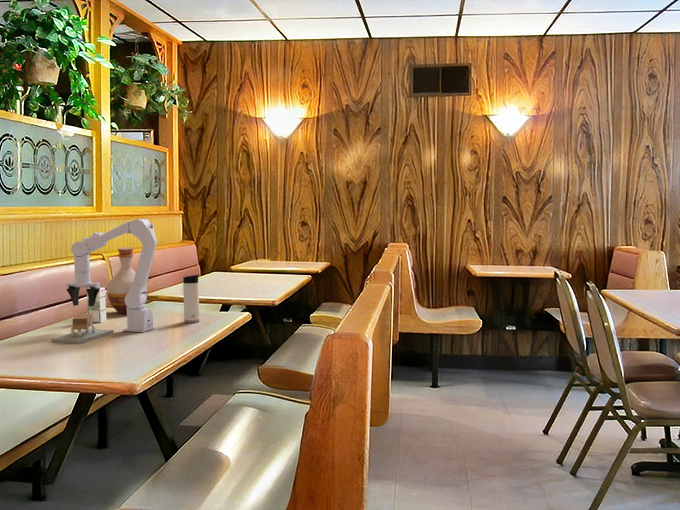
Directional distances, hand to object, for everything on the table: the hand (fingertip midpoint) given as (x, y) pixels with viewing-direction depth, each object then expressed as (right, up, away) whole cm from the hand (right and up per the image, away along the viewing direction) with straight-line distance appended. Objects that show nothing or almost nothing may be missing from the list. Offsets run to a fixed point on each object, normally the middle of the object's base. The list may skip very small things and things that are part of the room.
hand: (83, 305), depth 265 cm
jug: (+3, -7, +44) cm, 44 cm away
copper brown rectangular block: (+5, -7, -14) cm, 16 cm away
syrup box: (-2, -9, +20) cm, 22 cm away
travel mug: (+39, -8, +18) cm, 44 cm away
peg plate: (+5, -11, -13) cm, 18 cm away
